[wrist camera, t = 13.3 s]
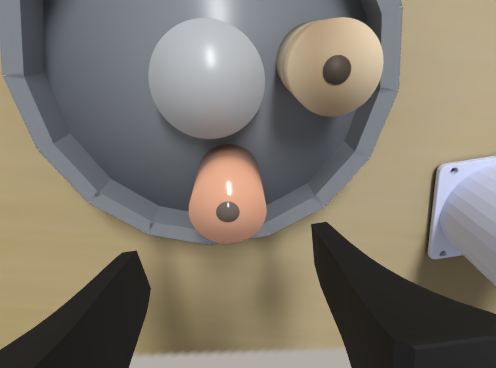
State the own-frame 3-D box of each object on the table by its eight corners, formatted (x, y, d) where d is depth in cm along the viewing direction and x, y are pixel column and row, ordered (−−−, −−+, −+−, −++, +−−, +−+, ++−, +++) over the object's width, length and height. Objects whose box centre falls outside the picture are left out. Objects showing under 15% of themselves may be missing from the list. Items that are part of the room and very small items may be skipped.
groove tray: (384, -192, 14) (414, -236, 12) (376, 197, 23) (392, 216, 20) (-44, -109, 15) (-97, -137, 12) (104, 240, 23) (90, 263, 21)
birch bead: (344, 15, 17) (385, 8, 13) (347, 90, 19) (383, 108, 14) (271, 28, 17) (285, 26, 13) (280, 102, 19) (295, 123, 14)
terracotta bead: (255, 139, 20) (261, 171, 15) (262, 195, 22) (270, 238, 17) (192, 149, 20) (180, 183, 16) (205, 204, 22) (197, 249, 17)
